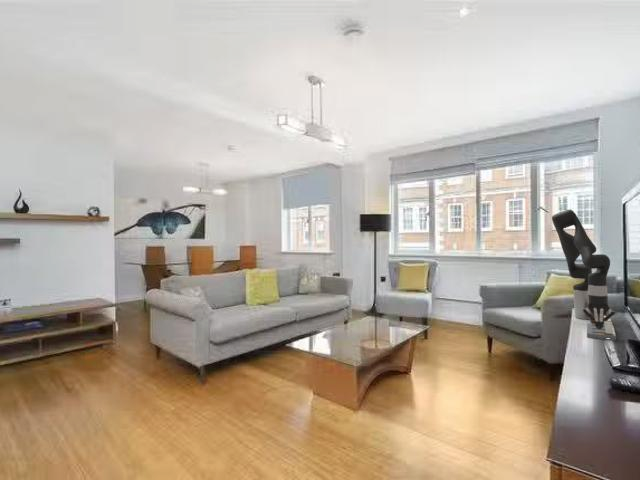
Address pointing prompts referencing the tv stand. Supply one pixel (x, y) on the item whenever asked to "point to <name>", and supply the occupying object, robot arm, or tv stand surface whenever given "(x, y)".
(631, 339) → the tv stand surface
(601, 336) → the breaker panel
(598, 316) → the mug
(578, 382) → the tv stand surface
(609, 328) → the block
